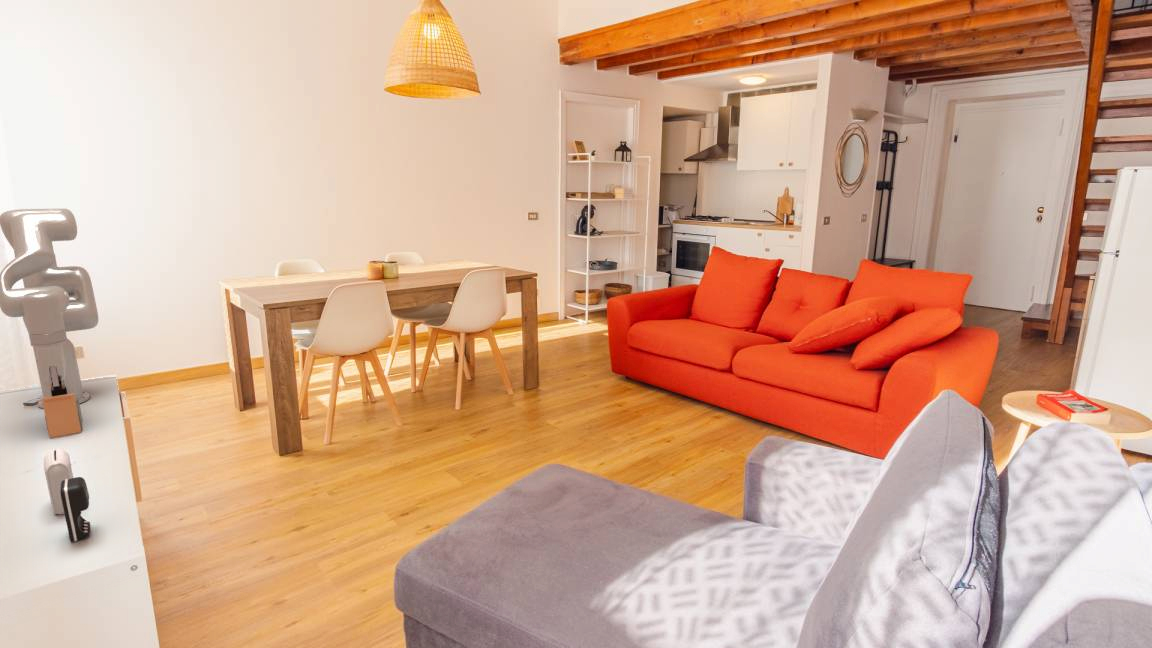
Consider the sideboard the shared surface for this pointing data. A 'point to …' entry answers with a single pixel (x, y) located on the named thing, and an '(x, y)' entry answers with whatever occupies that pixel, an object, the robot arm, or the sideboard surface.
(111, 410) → the sideboard surface
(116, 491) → the sideboard surface
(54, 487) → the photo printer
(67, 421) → the side door
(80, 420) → the camera housing
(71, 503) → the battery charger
